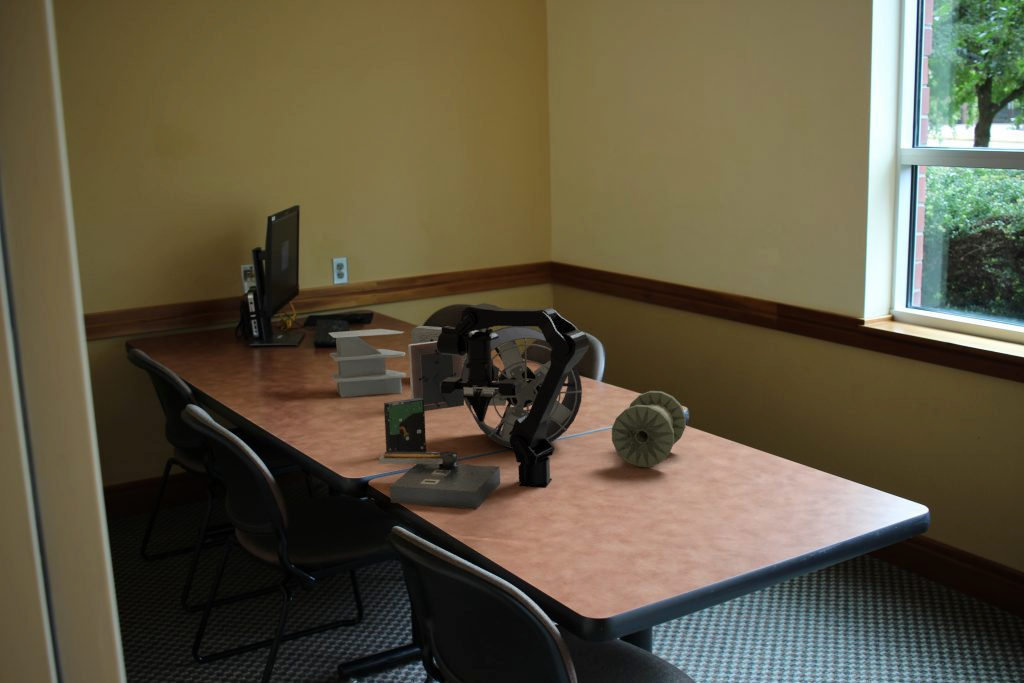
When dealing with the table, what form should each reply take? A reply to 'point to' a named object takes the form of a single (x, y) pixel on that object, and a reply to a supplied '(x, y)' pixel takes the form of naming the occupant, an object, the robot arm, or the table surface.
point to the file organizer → (364, 365)
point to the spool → (648, 428)
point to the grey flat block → (446, 485)
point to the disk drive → (405, 425)
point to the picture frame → (433, 375)
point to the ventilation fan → (526, 387)
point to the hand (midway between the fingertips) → (481, 421)
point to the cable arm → (421, 458)
